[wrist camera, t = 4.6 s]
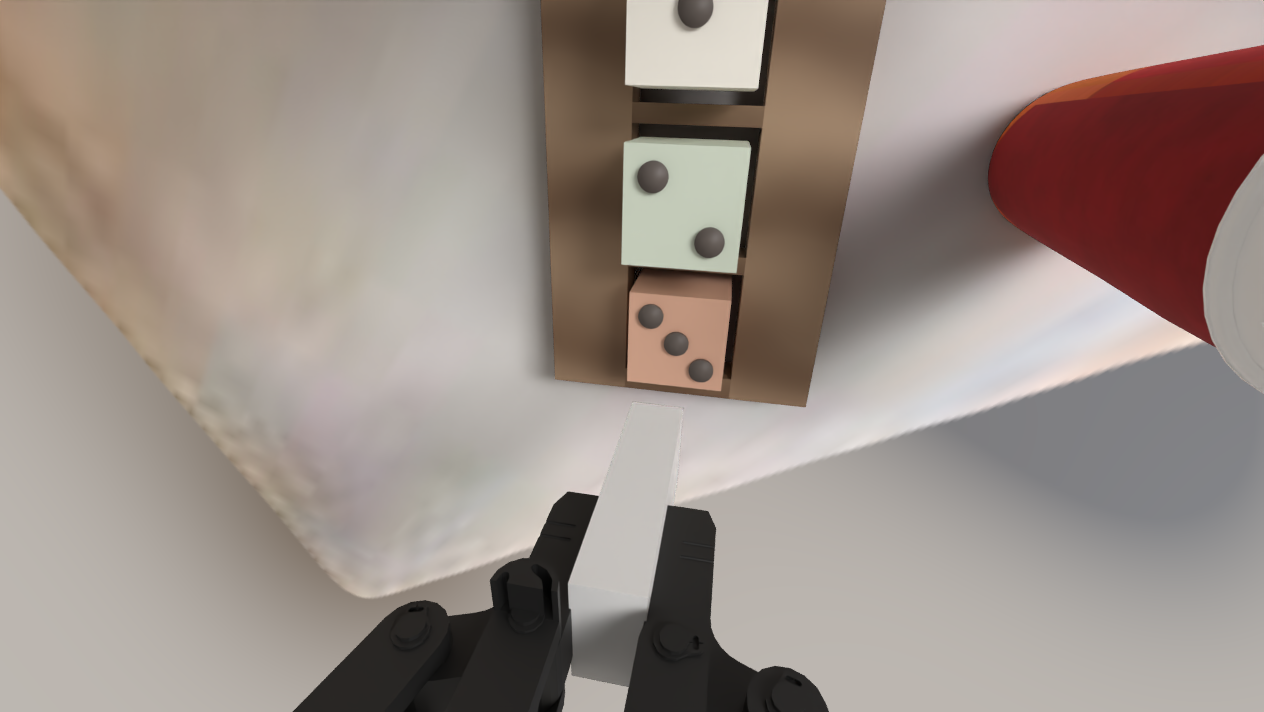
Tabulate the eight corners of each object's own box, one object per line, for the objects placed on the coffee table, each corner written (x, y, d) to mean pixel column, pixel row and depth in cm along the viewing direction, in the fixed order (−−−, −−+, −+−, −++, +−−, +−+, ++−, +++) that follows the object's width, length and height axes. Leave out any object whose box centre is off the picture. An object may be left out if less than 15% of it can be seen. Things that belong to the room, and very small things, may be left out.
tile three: (643, 267, 27) (628, 293, 23) (732, 274, 26) (731, 302, 22) (640, 346, 29) (626, 383, 25) (722, 355, 28) (720, 393, 24)
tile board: (553, -79, 21) (536, -95, 20) (891, -85, 20) (907, -104, 18) (565, 363, 30) (555, 379, 28) (801, 388, 28) (805, 407, 26)
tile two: (641, 136, 22) (622, 142, 18) (748, 141, 22) (751, 148, 18) (638, 241, 24) (620, 265, 20) (736, 248, 23) (736, 274, 20)
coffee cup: (1027, 295, 24) (1386, 525, 11) (916, 162, 23) (1171, 242, 9) (1238, 155, 21) (2144, 241, 7) (1122, -12, 19) (1988, -277, 6)
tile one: (648, -46, 19) (627, -82, 16) (770, -47, 19) (778, -85, 15) (643, 88, 21) (623, 84, 18) (754, 91, 21) (758, 88, 17)
